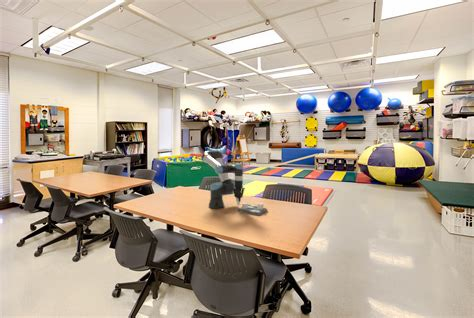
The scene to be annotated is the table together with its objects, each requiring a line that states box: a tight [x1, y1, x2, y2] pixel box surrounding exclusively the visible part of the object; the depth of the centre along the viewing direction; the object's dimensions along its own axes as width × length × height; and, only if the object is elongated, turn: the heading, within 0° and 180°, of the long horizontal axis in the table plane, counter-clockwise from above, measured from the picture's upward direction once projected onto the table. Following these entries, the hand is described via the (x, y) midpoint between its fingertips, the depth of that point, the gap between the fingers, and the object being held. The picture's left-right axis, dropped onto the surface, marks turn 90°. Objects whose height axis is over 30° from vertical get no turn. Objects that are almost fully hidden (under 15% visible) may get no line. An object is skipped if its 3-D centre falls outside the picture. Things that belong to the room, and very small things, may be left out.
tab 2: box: [256, 202, 264, 210], centre depth 225 cm, size 4×4×5 cm
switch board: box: [237, 204, 268, 217], centre depth 226 cm, size 22×16×3 cm
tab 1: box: [241, 202, 249, 209], centre depth 226 cm, size 4×4×5 cm
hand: (238, 204), depth 230 cm, fingers closed
